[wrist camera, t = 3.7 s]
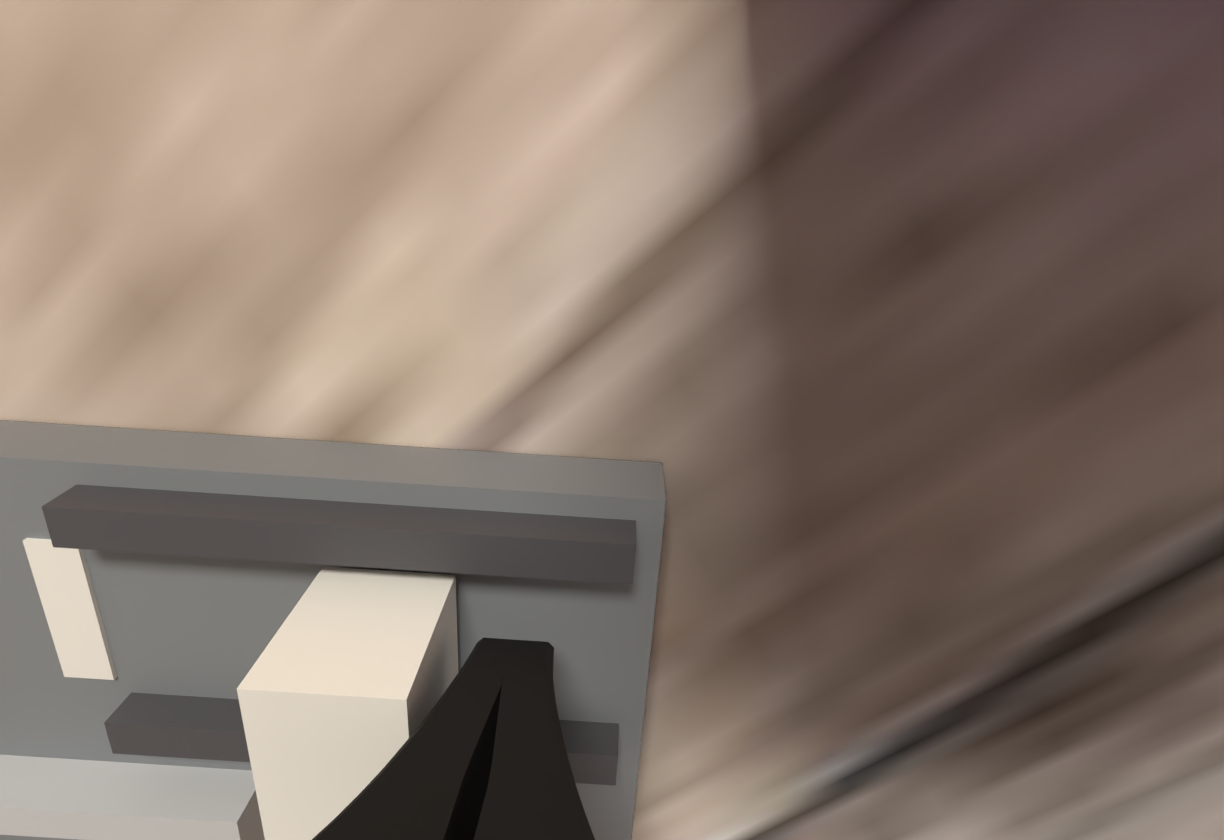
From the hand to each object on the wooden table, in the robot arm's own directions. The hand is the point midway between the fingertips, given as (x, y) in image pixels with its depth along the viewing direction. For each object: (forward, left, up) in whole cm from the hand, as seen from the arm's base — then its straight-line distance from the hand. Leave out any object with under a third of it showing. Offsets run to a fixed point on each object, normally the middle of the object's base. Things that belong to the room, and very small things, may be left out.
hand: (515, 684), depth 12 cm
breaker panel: (-5, +6, -3) cm, 8 cm away
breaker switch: (0, +2, -1) cm, 3 cm away
